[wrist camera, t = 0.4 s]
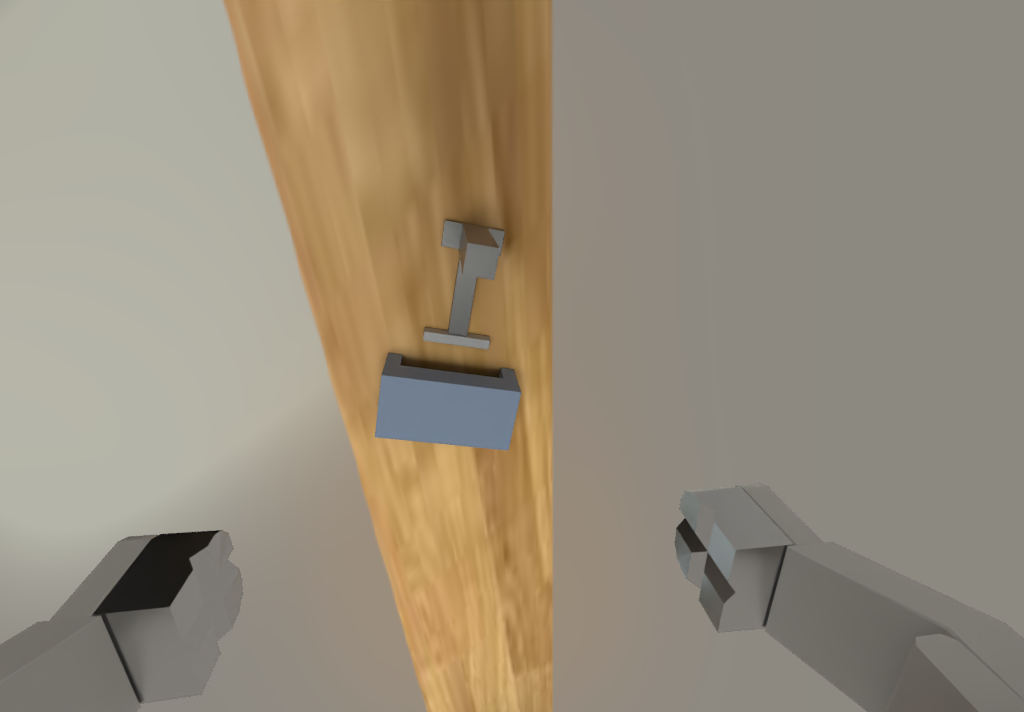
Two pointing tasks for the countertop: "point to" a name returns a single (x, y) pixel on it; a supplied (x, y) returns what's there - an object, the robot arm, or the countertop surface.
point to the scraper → (468, 279)
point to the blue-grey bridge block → (446, 406)
